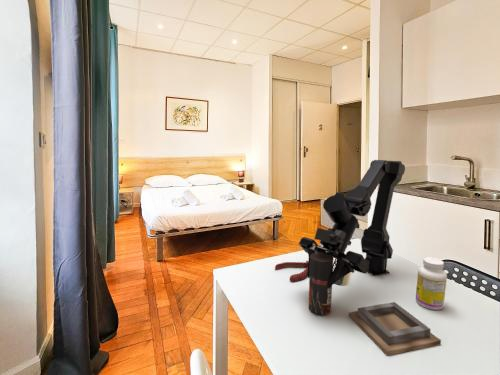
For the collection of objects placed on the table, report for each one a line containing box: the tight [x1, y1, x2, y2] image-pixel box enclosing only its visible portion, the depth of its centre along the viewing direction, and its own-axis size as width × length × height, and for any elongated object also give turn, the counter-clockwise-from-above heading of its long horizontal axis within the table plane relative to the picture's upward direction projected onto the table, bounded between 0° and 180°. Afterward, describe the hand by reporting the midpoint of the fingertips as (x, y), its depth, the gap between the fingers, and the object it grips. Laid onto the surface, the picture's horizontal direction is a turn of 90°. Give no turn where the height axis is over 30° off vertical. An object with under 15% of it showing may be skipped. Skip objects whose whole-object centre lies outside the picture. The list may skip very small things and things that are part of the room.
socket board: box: [348, 301, 442, 357], centre depth 66 cm, size 14×14×3 cm
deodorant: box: [308, 253, 334, 317], centre depth 73 cm, size 6×6×15 cm
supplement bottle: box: [415, 256, 448, 311], centre depth 76 cm, size 7×7×13 cm
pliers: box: [274, 260, 309, 283], centre depth 98 cm, size 12×20×3 cm, turn 116°
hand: (317, 281), depth 72 cm, fingers closed on deodorant, 6 cm apart
